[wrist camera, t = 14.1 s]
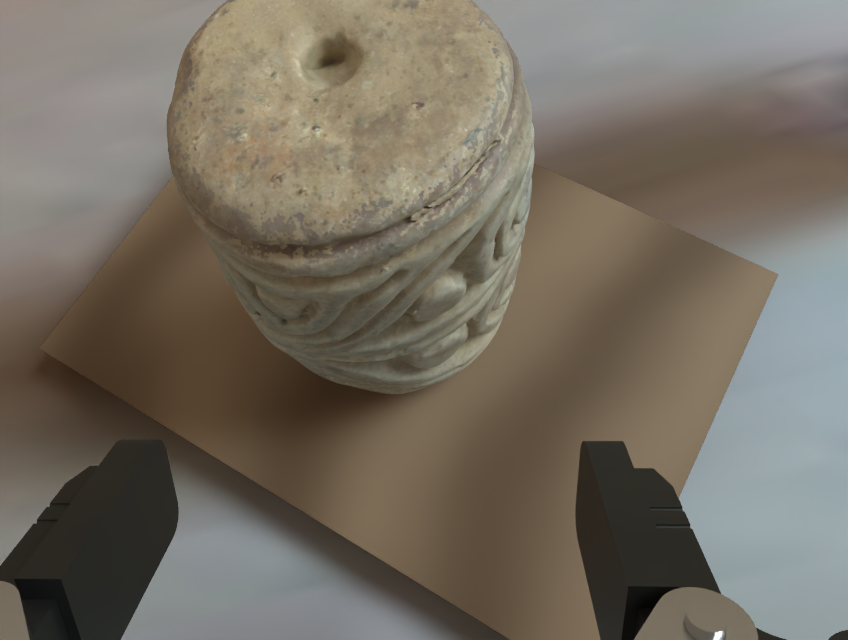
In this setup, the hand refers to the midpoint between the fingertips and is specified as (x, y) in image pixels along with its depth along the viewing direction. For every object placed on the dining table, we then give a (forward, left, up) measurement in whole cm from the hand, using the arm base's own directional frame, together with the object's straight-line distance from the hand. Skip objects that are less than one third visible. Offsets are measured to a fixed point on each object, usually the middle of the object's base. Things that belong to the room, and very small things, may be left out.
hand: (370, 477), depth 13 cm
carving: (+3, -5, -8) cm, 10 cm away
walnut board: (+3, -5, -9) cm, 11 cm away
